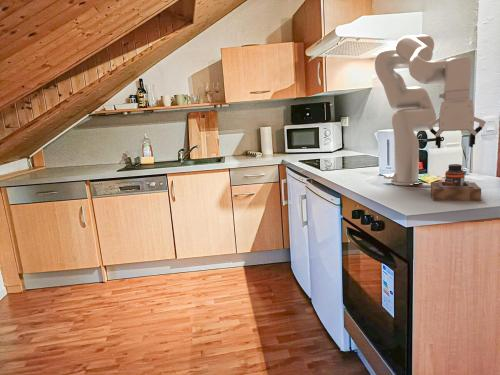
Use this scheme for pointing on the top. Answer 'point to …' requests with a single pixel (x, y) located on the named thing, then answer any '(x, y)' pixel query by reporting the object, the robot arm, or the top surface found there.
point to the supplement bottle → (454, 175)
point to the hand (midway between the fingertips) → (454, 147)
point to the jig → (456, 191)
